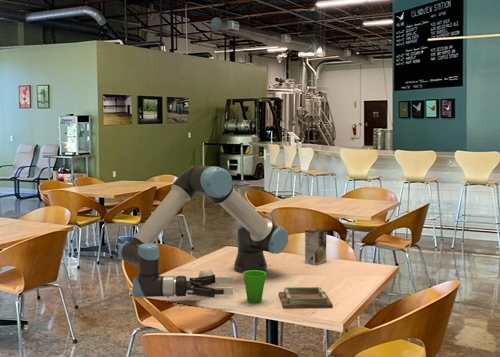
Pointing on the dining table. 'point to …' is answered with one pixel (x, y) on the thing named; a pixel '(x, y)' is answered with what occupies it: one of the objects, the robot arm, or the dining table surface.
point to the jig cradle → (304, 298)
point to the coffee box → (315, 246)
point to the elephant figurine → (205, 273)
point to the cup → (254, 285)
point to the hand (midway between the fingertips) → (232, 285)
